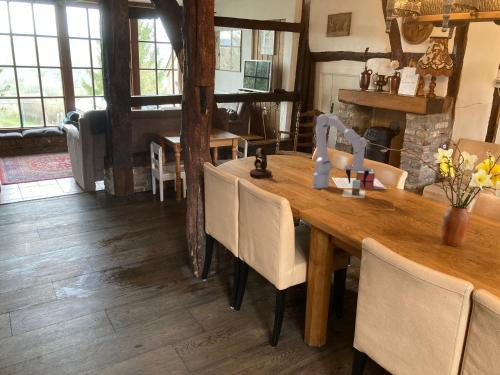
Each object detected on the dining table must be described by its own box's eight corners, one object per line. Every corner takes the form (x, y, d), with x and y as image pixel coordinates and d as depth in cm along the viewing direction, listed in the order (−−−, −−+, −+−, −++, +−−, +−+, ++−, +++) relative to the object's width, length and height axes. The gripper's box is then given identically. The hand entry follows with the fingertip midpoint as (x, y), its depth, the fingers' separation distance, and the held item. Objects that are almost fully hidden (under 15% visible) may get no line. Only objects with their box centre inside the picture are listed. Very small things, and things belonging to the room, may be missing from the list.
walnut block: (351, 195, 233) (352, 188, 232) (352, 193, 237) (352, 186, 236) (359, 195, 232) (359, 188, 231) (359, 193, 236) (359, 186, 235)
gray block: (352, 188, 232) (352, 181, 231) (352, 186, 236) (353, 179, 235) (359, 188, 231) (360, 182, 230) (359, 186, 235) (360, 180, 234)
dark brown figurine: (276, 176, 274) (276, 146, 269) (257, 179, 266) (258, 149, 261) (262, 172, 286) (263, 143, 280) (245, 175, 278) (245, 145, 272)
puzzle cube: (373, 189, 247) (374, 173, 244) (355, 188, 249) (357, 172, 246) (371, 185, 256) (373, 169, 253) (355, 184, 258) (356, 168, 255)
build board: (342, 197, 231) (342, 196, 231) (344, 190, 244) (344, 189, 244) (364, 199, 228) (364, 198, 228) (365, 192, 241) (365, 191, 241)
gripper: (344, 160, 227) (342, 184, 231) (371, 162, 223) (369, 186, 227) (345, 157, 234) (343, 180, 238) (372, 159, 230) (369, 183, 234)
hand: (356, 183), depth 233 cm, fingers open, 7 cm apart
